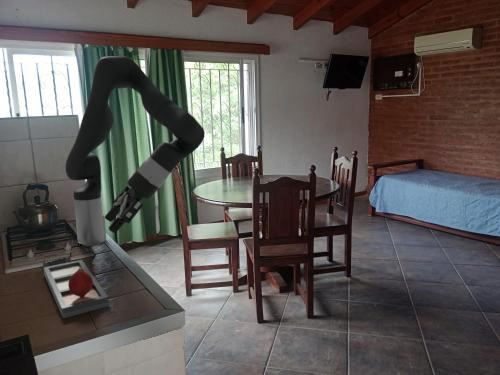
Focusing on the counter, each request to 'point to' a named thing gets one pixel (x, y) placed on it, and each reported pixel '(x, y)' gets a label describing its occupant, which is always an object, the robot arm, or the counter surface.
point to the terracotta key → (74, 299)
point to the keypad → (59, 287)
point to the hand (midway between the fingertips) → (109, 225)
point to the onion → (80, 283)
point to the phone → (56, 262)
